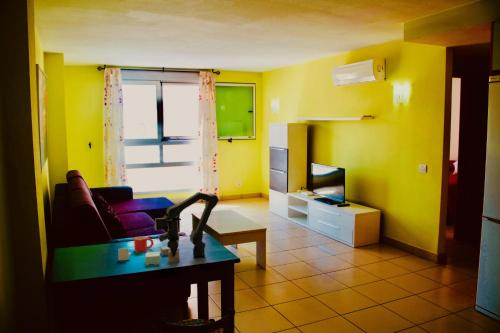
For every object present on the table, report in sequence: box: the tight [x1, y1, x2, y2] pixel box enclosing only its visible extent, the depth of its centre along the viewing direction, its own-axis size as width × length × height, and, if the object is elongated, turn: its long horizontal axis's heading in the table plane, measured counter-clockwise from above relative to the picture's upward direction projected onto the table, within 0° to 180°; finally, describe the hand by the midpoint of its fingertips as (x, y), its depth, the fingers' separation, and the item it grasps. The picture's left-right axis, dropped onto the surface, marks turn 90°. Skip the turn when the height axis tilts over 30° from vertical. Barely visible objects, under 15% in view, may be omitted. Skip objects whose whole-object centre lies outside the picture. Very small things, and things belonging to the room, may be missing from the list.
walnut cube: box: [167, 248, 180, 263], centre depth 230 cm, size 6×6×6 cm
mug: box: [133, 236, 154, 253], centre depth 250 cm, size 8×12×8 cm, turn 107°
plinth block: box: [144, 251, 161, 266], centre depth 227 cm, size 8×8×5 cm
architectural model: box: [117, 247, 132, 261], centre depth 233 cm, size 3×7×7 cm, turn 103°
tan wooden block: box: [160, 245, 170, 257], centre depth 242 cm, size 6×6×4 cm
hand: (174, 253), depth 230 cm, fingers open, 9 cm apart
